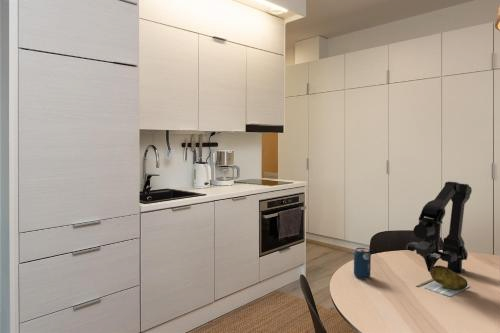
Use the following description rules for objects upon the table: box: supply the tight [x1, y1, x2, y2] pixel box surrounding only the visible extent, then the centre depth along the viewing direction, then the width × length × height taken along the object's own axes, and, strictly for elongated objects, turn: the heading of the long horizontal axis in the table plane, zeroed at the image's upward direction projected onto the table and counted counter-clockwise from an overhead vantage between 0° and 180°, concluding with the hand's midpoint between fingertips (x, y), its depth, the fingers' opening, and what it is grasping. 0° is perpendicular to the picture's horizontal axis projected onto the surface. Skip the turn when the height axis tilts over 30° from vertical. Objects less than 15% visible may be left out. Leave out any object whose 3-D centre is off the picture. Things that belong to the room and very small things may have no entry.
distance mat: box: [423, 281, 470, 298], centre depth 147 cm, size 16×10×1 cm, turn 126°
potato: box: [429, 264, 469, 290], centre depth 146 cm, size 8×13×8 cm, turn 43°
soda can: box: [353, 247, 372, 280], centre depth 158 cm, size 7×7×12 cm
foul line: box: [415, 278, 434, 288], centre depth 153 cm, size 18×1×1 cm, turn 126°
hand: (429, 271), depth 152 cm, fingers closed
